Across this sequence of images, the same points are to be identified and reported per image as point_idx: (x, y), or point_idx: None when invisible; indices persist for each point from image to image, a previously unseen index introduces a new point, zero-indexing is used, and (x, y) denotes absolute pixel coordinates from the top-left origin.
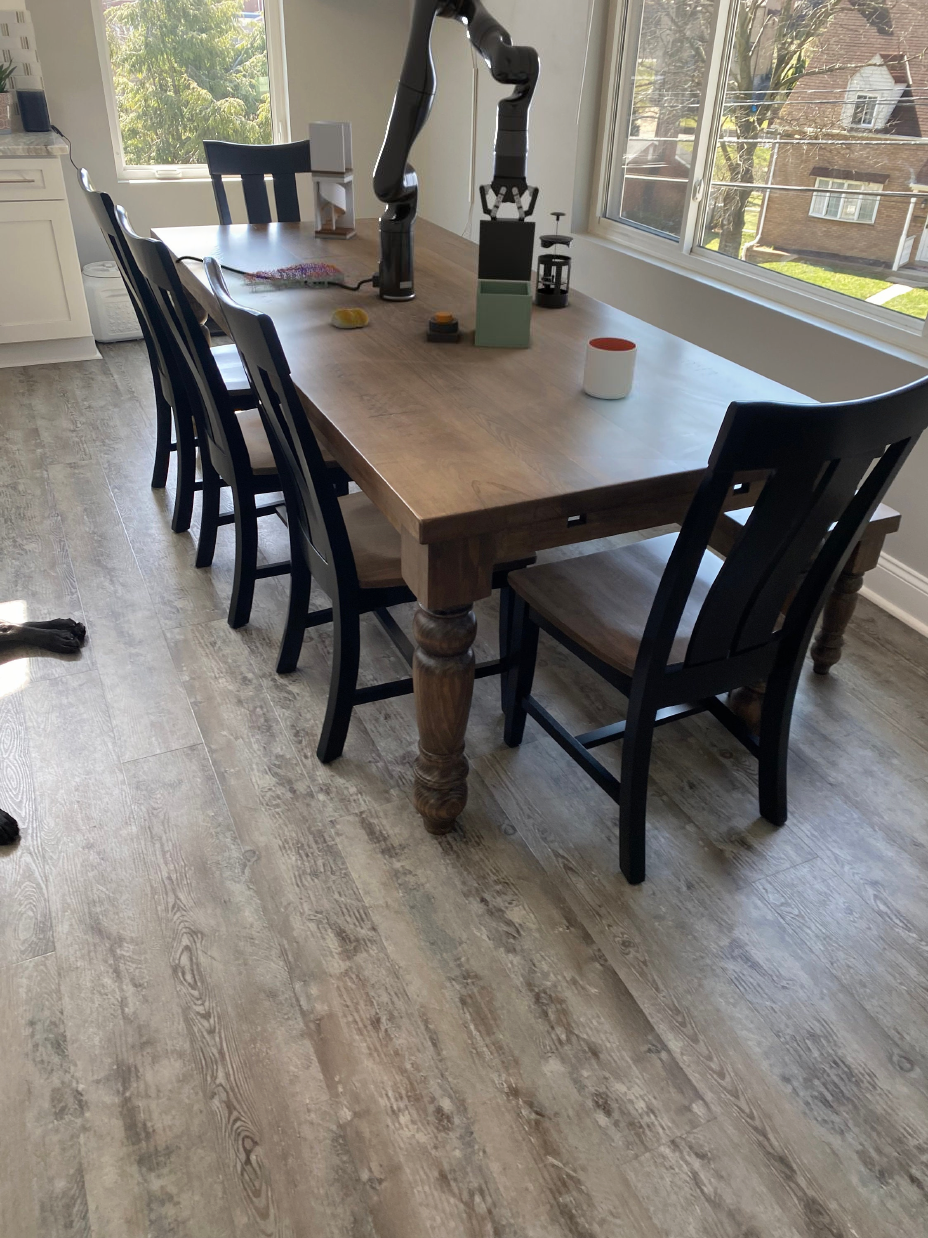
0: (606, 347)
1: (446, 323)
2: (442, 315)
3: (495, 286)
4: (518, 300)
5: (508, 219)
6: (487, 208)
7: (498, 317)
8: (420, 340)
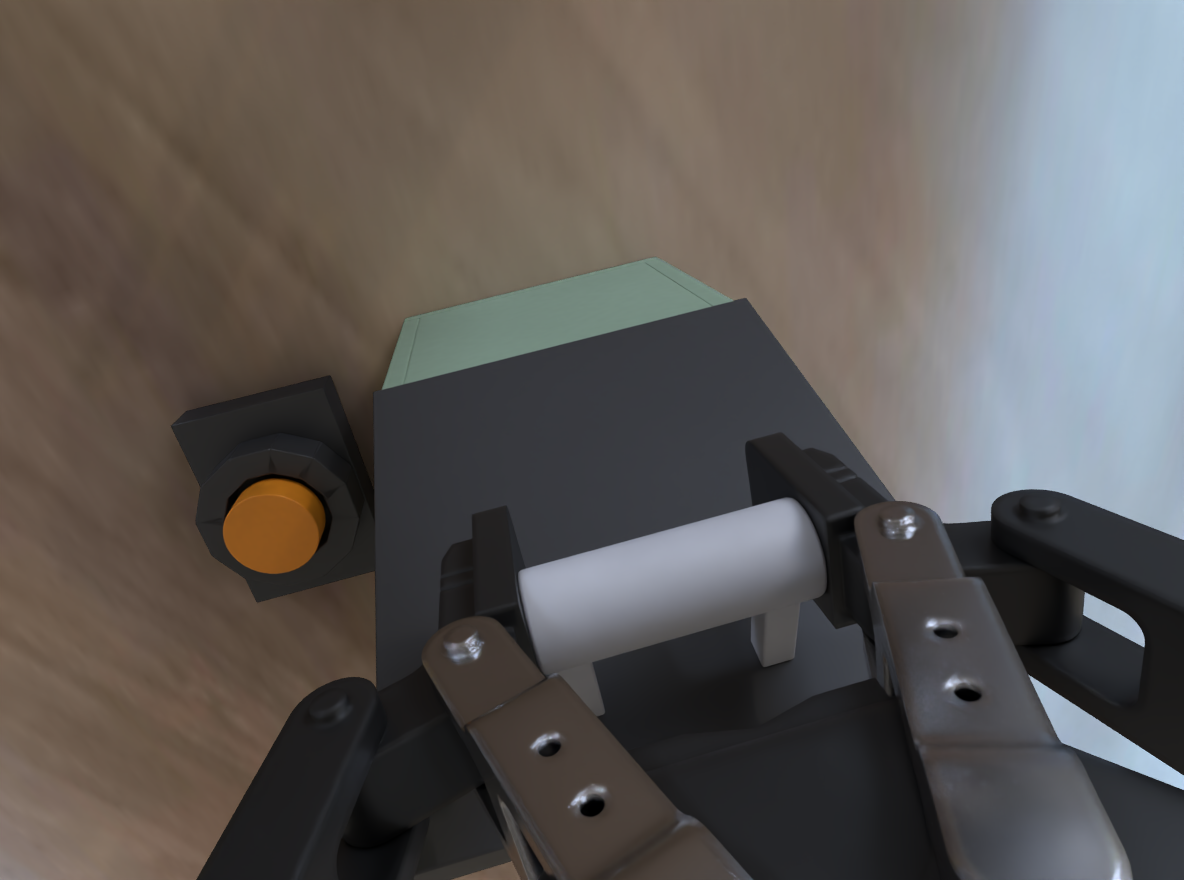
0: None
1: (321, 573)
2: (280, 566)
3: None
4: None
5: (697, 629)
6: (413, 858)
7: None
8: (225, 572)
